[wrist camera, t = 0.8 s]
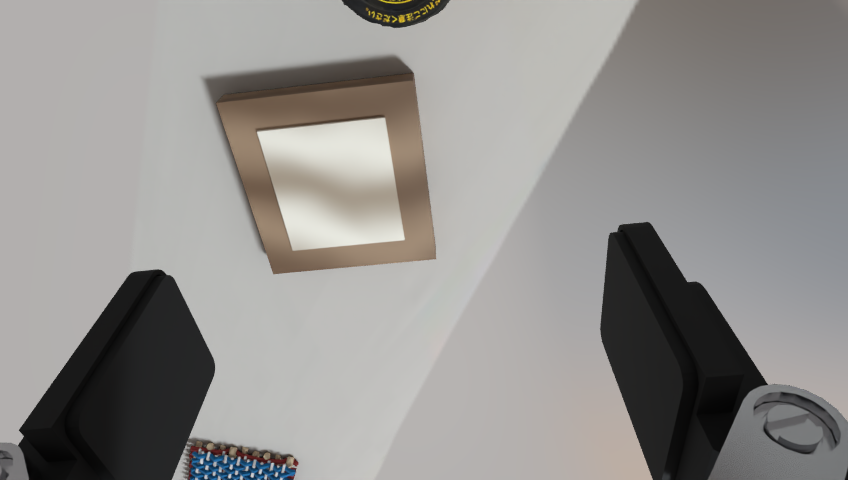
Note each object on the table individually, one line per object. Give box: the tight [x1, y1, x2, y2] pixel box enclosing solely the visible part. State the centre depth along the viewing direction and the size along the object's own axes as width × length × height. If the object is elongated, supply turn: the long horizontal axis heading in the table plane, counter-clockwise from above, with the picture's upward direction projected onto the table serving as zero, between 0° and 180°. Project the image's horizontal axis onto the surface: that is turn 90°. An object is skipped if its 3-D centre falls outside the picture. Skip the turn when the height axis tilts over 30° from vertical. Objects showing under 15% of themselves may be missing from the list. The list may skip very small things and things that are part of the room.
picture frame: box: [216, 73, 436, 274], centre depth 37 cm, size 13×12×2 cm
